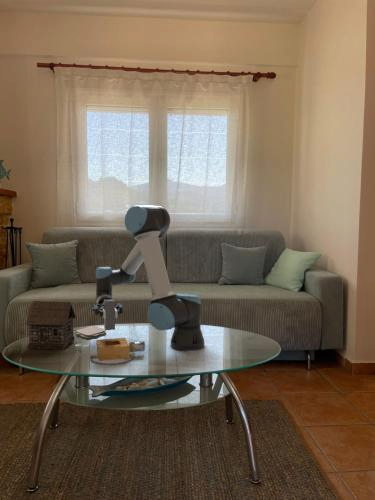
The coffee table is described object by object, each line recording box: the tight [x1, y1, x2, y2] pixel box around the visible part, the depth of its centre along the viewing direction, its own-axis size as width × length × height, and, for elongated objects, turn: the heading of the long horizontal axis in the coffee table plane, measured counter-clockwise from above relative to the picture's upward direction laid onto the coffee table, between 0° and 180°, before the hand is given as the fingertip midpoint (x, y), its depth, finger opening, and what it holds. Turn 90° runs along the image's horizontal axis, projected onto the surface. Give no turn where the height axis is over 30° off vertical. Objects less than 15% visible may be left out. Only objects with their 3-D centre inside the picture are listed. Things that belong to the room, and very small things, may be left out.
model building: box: [25, 300, 77, 350], centre depth 189 cm, size 18×14×20 cm
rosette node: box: [89, 337, 146, 366], centre depth 173 cm, size 22×18×6 cm
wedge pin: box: [103, 298, 116, 331], centre depth 175 cm, size 4×4×12 cm
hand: (110, 314), depth 170 cm, fingers closed on wedge pin, 4 cm apart
